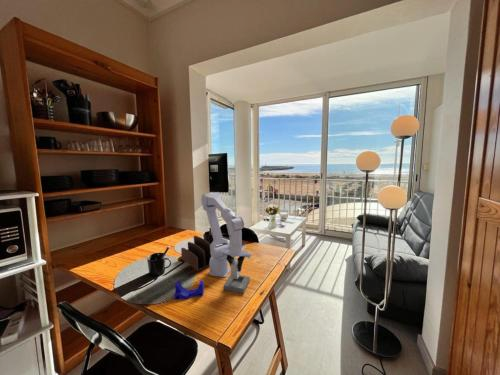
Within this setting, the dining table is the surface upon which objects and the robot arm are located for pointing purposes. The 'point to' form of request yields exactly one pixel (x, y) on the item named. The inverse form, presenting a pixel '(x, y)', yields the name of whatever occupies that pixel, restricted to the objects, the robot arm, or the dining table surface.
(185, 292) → the blue concave cradle block
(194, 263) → the letter holder
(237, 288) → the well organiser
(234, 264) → the long block
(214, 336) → the dining table surface
